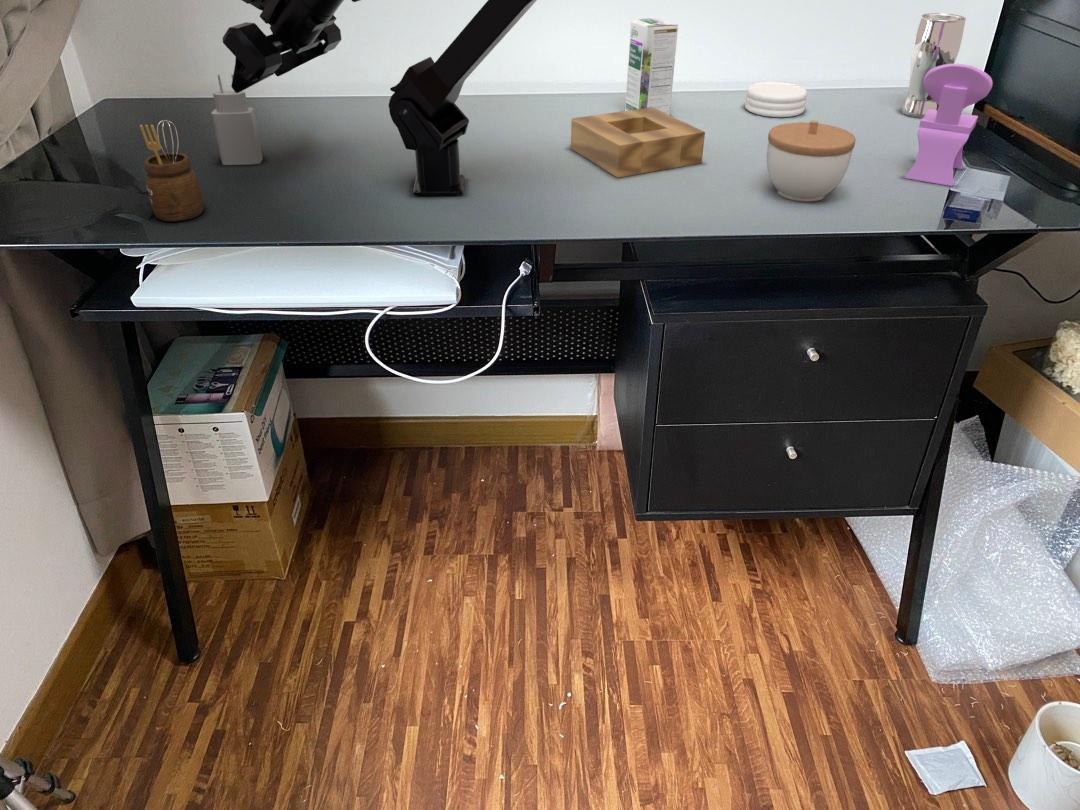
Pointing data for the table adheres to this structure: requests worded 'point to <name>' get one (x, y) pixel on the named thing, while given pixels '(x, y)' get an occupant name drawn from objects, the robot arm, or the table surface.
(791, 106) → the white layered disc
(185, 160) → the utensil holder
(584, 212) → the table surface
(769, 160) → the trinket box
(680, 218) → the table surface
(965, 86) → the chair
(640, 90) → the syrup box
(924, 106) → the silver tumbler
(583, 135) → the block
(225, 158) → the power adapter
